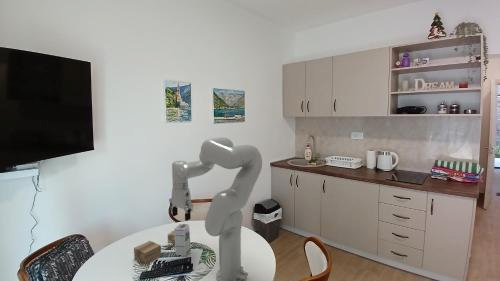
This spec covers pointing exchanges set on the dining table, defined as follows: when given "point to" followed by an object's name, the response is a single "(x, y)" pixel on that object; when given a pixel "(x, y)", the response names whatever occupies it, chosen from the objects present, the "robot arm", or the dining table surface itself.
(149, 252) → the brown cardboard box
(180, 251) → the syrup box
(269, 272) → the dining table surface
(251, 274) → the dining table surface
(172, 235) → the oak cube
